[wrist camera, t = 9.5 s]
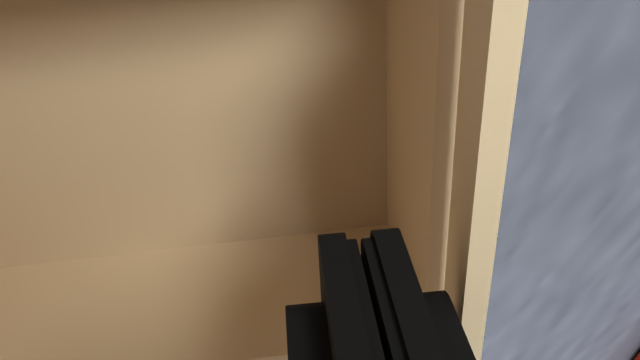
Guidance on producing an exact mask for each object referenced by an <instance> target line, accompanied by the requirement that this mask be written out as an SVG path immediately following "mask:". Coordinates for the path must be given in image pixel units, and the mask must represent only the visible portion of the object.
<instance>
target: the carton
mask: <svg viewBox="0 0 640 360" xmlns="http://www.w3.org/2000/svg"><path fill="white" fill-rule="evenodd" d="M464 3H465V0H0V360H288V352H287V333H286V313H285V305H295V304H306V303H316V302H321V289H320V272H319V254H318V235H320V234H331V233H342V232H345V234H346V238H347V239H357V242H358V247H359V251H360V255H361V238H370V232H371V230H378V229H389V228H399V229H400V231H401V233H402V236H403V239H404V242H405V245H406V247H407V250H408V253H409V256H410V259H411V261H412V264H413V267H414V270H415V273H416V275H417V278H418V281H419V284H420V287H421V289H422V292H431V291H441V290H444V285H445V271H446V257H447V243H448V228H449V214H450V200H451V186H452V172H453V158H454V144H455V130H456V116H457V102H458V87H459V73H460V59H461V45H462V31H463V17H464Z"/></svg>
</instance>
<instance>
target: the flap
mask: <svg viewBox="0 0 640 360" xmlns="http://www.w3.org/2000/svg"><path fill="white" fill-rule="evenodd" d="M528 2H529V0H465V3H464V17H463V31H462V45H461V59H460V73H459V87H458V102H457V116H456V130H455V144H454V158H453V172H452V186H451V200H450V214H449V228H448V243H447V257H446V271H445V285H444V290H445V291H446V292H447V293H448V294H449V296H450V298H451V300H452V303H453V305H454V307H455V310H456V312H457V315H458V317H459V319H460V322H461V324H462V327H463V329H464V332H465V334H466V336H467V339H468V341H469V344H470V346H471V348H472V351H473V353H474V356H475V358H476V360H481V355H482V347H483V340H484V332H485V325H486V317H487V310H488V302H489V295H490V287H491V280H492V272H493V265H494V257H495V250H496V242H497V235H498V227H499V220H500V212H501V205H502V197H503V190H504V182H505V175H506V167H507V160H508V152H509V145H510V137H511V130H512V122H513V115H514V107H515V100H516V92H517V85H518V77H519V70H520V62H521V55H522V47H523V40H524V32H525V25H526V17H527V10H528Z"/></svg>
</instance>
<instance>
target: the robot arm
mask: <svg viewBox="0 0 640 360" xmlns="http://www.w3.org/2000/svg"><path fill="white" fill-rule="evenodd" d="M318 254H319V272H320V289H321V302H316V303H306V304H295V305H285V313H286V333H287V352H288V360H476V358H475V356H474V353H473V351H472V348H471V346H470V344H469V341H468V339H467V336H466V334H465V332H464V329H463V327H462V324H461V322H460V319H459V317H458V315H457V312H456V310H455V307H454V305H453V303H452V300H451V298H450V296H449V294H448V293H447V292H446V291H445V290H441V291H431V292H422V289H421V287H420V284H419V281H418V278H417V275H416V273H415V270H414V267H413V264H412V261H411V259H410V256H409V253H408V250H407V247H406V245H405V242H404V239H403V236H402V233H401V231H400V229H399V228H389V229H378V230H371V232H370V238H361V255H360V251H359V247H358V242H357V239H347V238H346V234H345V232H342V233H331V234H320V235H318Z"/></svg>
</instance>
